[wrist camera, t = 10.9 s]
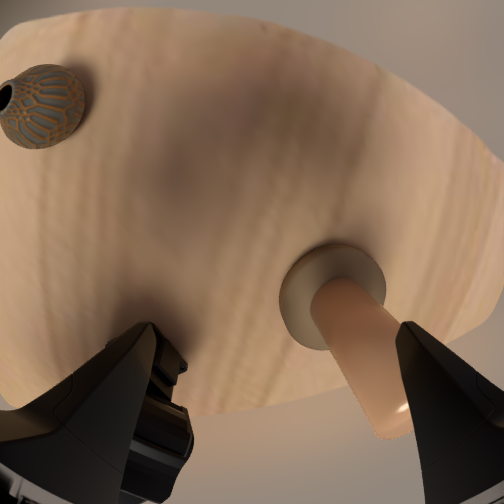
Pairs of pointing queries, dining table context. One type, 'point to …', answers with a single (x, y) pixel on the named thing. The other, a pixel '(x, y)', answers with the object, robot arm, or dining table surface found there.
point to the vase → (41, 106)
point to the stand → (315, 276)
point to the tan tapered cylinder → (364, 352)
